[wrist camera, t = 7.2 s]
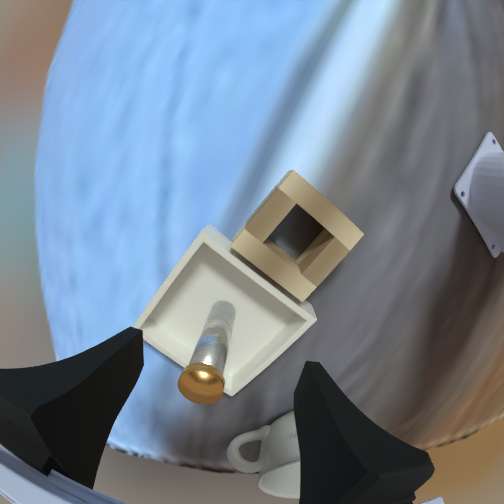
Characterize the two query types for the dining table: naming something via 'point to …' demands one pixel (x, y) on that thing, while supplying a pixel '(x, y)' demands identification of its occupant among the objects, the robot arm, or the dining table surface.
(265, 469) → the teacup
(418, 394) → the dining table surface
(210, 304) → the tray
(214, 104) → the dining table surface
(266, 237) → the beige square frame
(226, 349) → the pin
